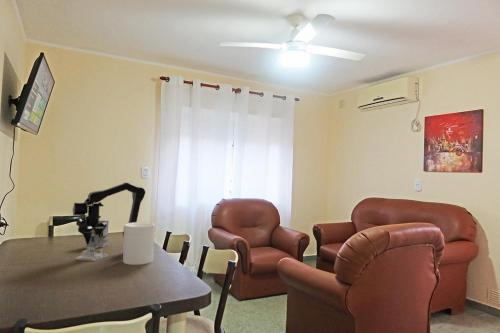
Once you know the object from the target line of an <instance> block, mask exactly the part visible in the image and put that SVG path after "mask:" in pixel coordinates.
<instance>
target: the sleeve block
mask: <svg viewBox="0 0 500 333" xmlns="http://www.w3.org/2000/svg"><path fill="white" fill-rule="evenodd" d="M108 256H109V254H108V253H103V249H100V248H95V249H85V250H82V251H81V255H79V256H77V257H75V258H74V261H75V260H76V261H88V262H98V261H100V260H101V259H104V258H106V257H108Z"/></svg>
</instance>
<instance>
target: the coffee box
mask: <svg viewBox="0 0 500 333" xmlns="http://www.w3.org/2000/svg"><path fill="white" fill-rule="evenodd" d="M99 222H106V223H107V227H105V229H104V231H103V233H102V234H101V236H100V238H99V241H98V247H97V248H104V247H105V248H106V247H108V245H109V244H108V242H109V239H108V238H109V220H100V219H99ZM91 232H93V233H92V234H94V235H96V232H95V230H94V229H92V231H91Z"/></svg>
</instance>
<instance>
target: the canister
mask: <svg viewBox="0 0 500 333" xmlns="http://www.w3.org/2000/svg"><path fill="white" fill-rule="evenodd" d="M155 225H156V224H155V223H153V222H146V221H144V222H143V221H140V222H139V221H137V222H133V223H129V222H128V223H124V227H123V231H124V237H123V250H122V253H123V254H122V262H123V263H124V264H126V265H133V266H134V265H136V266H137V265H146V264H150V263H152V262H154V252H155V251H154V250H155V247H154V246H155V245H154V244H155Z"/></svg>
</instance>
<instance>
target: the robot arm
mask: <svg viewBox="0 0 500 333" xmlns="http://www.w3.org/2000/svg"><path fill="white" fill-rule="evenodd" d="M123 191H128V192H130V193H131V194H132V195H131V196H132V205H131V210H130V213H129V219H128V223H133V222H138V216H139V212H140V209H141V208H140V207H141V203H142V201H143V199H144V198H145V195H146V190H145V189H144V188H143V187H141V186H136V185H133V184H130V182H123V183H121V184H117V185H114V186H112V187H110V188H107V189H104V190H103V189H101V190H95V191H92V192H91V191H90V192H89V194H88V195H87V198H86V199H85V200H84V202H74V203H73V208H72V215H73V216H85V215H86V214H87V216H86V217H85V219H83V220H82V218H80V219H77V220H76V226H78V228H77V232H78V233H79V234H82V236H83V238H84V239H85V243H86V244H89V242H90V239H91V236H92V233H93V232H91V231H92V229H94V230H95V232H96V235H99V238H100V236H101V234H102V233H103V231H104V229H105V227H107V223H106V222H99V220H100V219H101V217H102V216H101V215H100V207H104V204H102V202H101V201H103V200H105V199H106V198H108V197H109V196H113V195H115V194H119V193H121V192H123ZM122 235H123V236H122V237H123V238H124V230H123V231H122ZM86 244H85V245H86Z"/></svg>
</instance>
